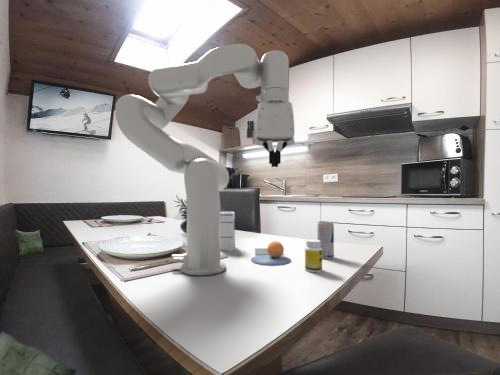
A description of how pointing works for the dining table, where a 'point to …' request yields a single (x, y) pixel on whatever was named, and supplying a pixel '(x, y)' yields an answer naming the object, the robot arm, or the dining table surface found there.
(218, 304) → the dining table surface
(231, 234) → the syrup box
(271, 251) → the ball
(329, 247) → the energy drink
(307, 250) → the supplement bottle
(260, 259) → the disc
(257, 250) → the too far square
